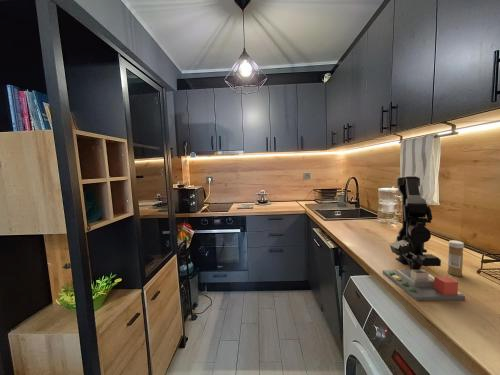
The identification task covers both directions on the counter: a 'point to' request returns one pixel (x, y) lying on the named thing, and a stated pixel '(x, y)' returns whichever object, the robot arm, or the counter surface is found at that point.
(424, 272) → the panel
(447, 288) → the cap
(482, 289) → the counter surface
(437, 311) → the counter surface
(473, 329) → the counter surface
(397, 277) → the breaker panel
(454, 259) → the sprinkles bottle
